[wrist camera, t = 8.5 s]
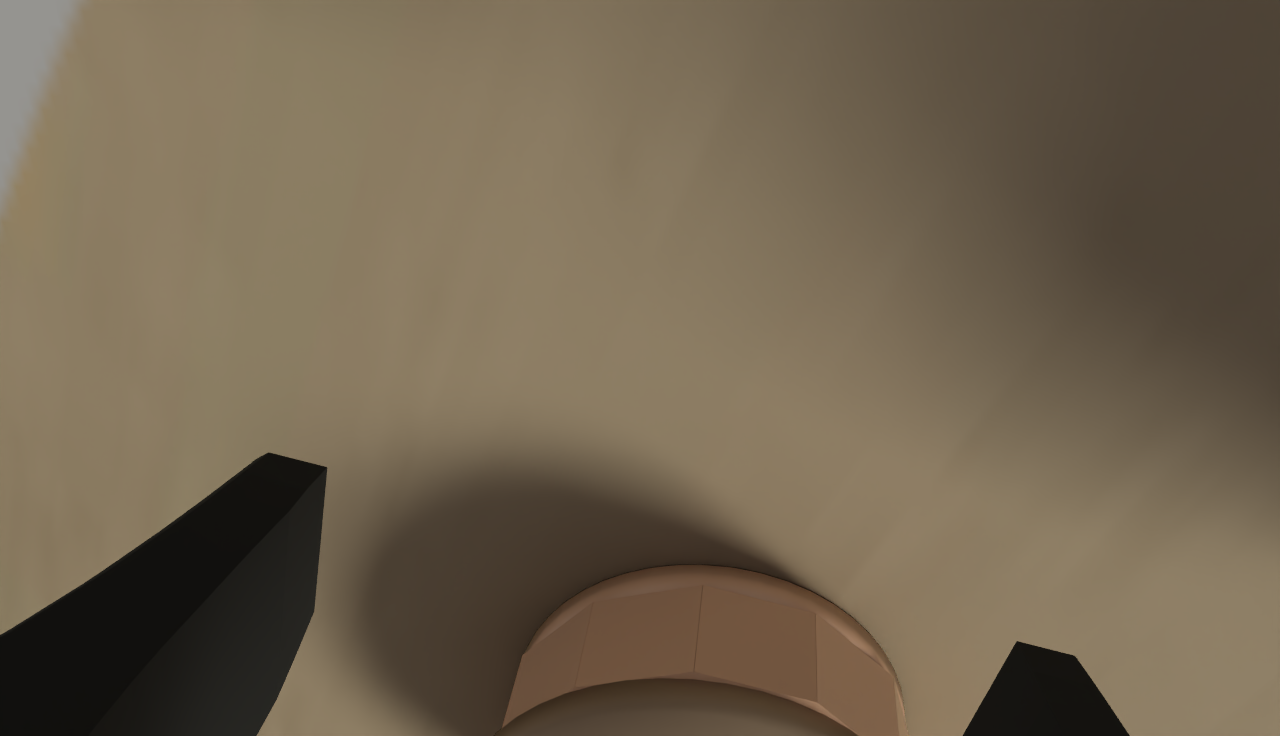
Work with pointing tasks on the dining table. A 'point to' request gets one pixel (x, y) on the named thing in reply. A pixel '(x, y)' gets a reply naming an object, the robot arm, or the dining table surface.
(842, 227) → the dining table surface
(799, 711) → the lid
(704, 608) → the bowl
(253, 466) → the robot arm
